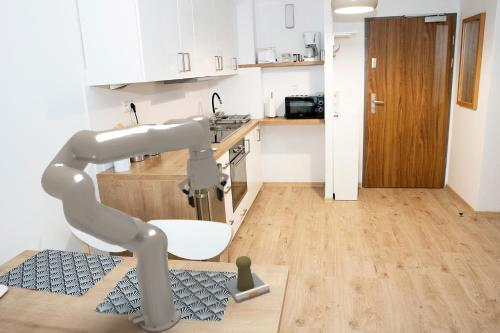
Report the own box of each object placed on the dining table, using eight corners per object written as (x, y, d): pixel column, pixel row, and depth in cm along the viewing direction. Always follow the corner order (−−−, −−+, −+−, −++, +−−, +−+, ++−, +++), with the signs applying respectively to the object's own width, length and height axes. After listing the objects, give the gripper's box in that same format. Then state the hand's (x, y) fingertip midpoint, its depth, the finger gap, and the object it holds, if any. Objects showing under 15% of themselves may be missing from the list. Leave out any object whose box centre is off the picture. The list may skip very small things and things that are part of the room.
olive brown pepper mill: (252, 292, 132) (250, 263, 129) (235, 291, 133) (232, 262, 130) (255, 282, 137) (253, 253, 134) (239, 281, 139) (236, 253, 135)
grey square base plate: (237, 303, 128) (236, 296, 128) (223, 284, 139) (223, 278, 138) (270, 292, 133) (269, 285, 132) (254, 275, 144) (254, 269, 143)
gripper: (221, 147, 134) (226, 194, 139) (171, 156, 128) (178, 205, 132) (229, 151, 128) (234, 201, 133) (177, 161, 121) (184, 212, 126)
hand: (206, 203), depth 133 cm, fingers open, 9 cm apart
